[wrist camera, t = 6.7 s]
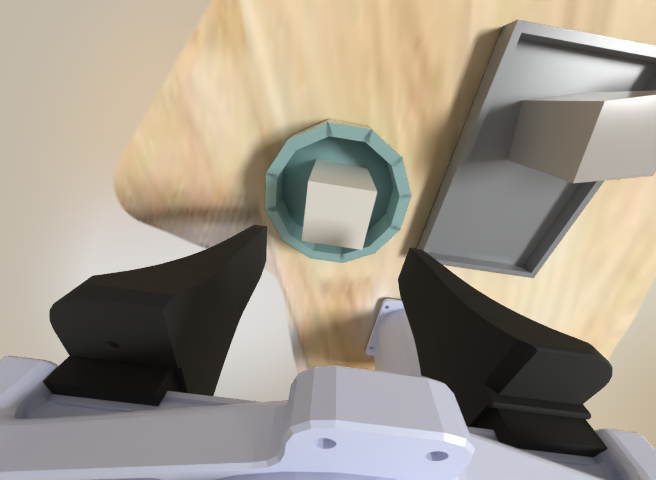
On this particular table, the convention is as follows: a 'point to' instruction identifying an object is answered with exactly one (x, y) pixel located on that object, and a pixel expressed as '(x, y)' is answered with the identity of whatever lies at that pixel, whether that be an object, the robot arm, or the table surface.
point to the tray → (496, 140)
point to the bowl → (346, 147)
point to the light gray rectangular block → (588, 135)
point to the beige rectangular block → (338, 204)
